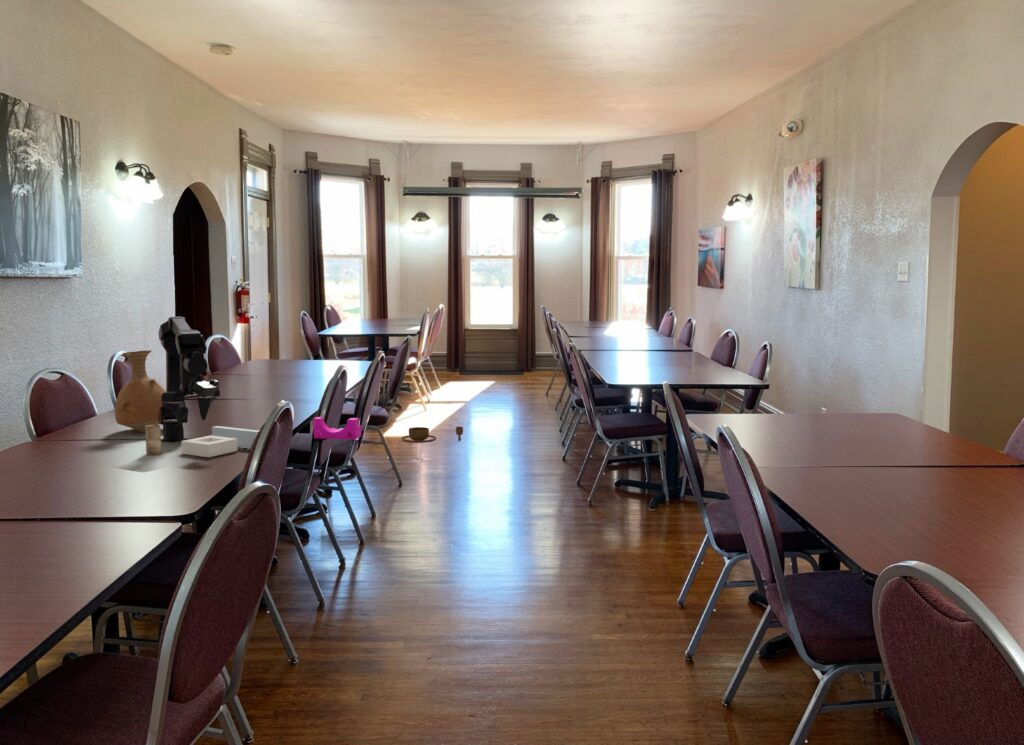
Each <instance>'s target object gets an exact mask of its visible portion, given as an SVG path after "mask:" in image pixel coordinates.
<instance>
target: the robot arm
mask: <svg viewBox="0 0 1024 745" xmlns="http://www.w3.org/2000/svg"><path fill="white" fill-rule="evenodd" d="M186 320H187V319H186V317H183V316H170V317H168V318H167V321H165V322H163V323H162V324H160V326H159V329H158V338H159V341H160V345H161V346H162V348H163V349H164V352H165V369H166V370H165V371H166V372H165V375H166V376H165V380H166V382H165V383H166V385H165V386H166V390H165V392H164V393H163V394H162V395H161V407H160V410H159V415H158V421H159V425H160V426H162V437H163V438H161V442H164V443H172V444H173V443H178V442H181V441H185V440H188V438H185V434H184V423H185V424H187V423H188V422H189V421H188V420H189V417H188V416H189V411H190V410H189V409H188V406H187V405H186V402H185V400H186V399H192V398H197V403H198V408H199V414H200V419H201V420H202V421H205V420H206V419H207V415H208V412H209V409H210V407H211V405H212V403H213V402H214V401H215V400H217V399H218V397H220V396H221V391H220V389H219V387H220V385H219V381H218V380H217V379H211V380H209V381H206V380H205V376H204V375H203V373H205V372H206V371H207V369H208V363H207V360H206V358H204V357H203V356H202V355H203V354H205V355H206V353H207V350H208V347H207V344H206V340H205V338H204V336H203V334H201V332H200V331H199V330H197V329H192V328H191V327H190V326H189V324H188V323H187V321H186ZM163 420H166V421H163Z"/></svg>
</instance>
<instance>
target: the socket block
mask: <svg viewBox="0 0 1024 745" xmlns="http://www.w3.org/2000/svg"><path fill="white" fill-rule="evenodd" d="M180 445H181V454H182V455H190V456H195V457H196V456H198V457H205V458H212V457H216V456H221V455H225V454H230V453H234V452H238V449H239V448H238V443H237V439H236V438H228V437H220V436H212V434H211V435H206V436H202V437H196V438H192V439H187V440H183V441H180Z"/></svg>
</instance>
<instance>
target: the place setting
mask: <svg viewBox="0 0 1024 745" xmlns="http://www.w3.org/2000/svg"><path fill="white" fill-rule="evenodd" d="M463 433H464V426H456V427H455V434H456V435H457V441H458V442H461V440H462V438H461V436H462V435H463ZM407 438H410V439H407ZM428 438H433V439H428ZM436 440H437V437H436V436H434V435H430V428H428V427H424V426H423V427H421V426H420V427H419V426H417V427H416V426H414V427H410V428H408V435H405V436H402V437H401V441H402V442H405V443H407V445H411V444H425V443H431V442H435V441H436Z"/></svg>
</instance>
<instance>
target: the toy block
mask: <svg viewBox="0 0 1024 745" xmlns="http://www.w3.org/2000/svg"><path fill="white" fill-rule="evenodd" d="M359 422H360V421H359V417H350V418H349V419H347V422H346V424H345V426H344V427H343V428H340V429H338V428H335V427H331V428H330V427H329V426H328V424H326V422H325V419H324V417H323V416H316V417H314V418H313V439H325V440H326V439H329V440H330V439H332V440H333V439H334V440H357V439H359V438H361V437H362V425H361V424H359Z"/></svg>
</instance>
